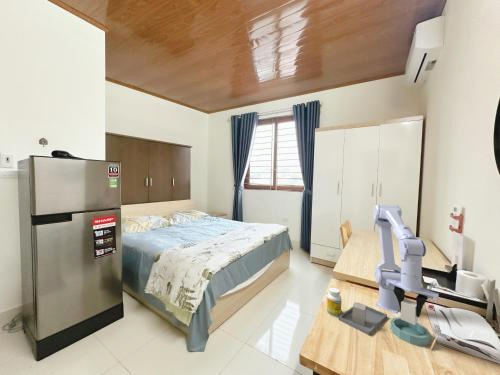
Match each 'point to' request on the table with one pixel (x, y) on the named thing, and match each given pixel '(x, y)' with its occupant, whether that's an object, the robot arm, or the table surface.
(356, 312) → the light gray rectangular block
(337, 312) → the supplement bottle
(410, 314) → the beige rectangular block
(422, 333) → the bowl
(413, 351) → the table surface
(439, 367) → the table surface
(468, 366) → the table surface
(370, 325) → the tray
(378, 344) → the table surface
